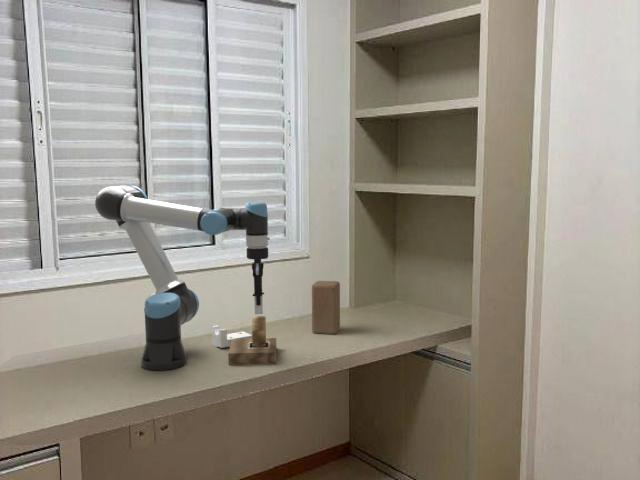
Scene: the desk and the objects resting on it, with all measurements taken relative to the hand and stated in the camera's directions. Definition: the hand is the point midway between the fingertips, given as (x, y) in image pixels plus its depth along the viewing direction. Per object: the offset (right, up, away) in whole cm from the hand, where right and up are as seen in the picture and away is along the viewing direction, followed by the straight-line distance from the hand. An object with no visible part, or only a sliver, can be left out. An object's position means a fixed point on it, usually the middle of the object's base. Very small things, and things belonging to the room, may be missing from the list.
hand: (258, 313), depth 219 cm
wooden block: (+24, -11, +35) cm, 44 cm away
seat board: (-2, -15, +2) cm, 16 cm away
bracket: (-12, -14, +17) cm, 25 cm away
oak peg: (0, -15, +2) cm, 15 cm away
